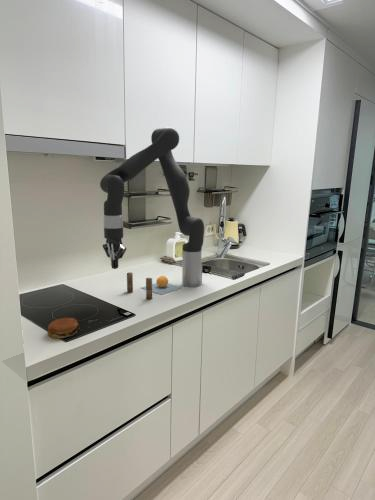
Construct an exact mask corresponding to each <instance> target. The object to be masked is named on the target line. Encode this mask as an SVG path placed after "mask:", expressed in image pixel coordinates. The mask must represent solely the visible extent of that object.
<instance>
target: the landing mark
mask: <svg viewBox="0 0 375 500" xmlns="http://www.w3.org/2000/svg"><path fill="white" fill-rule="evenodd" d="M182 288H183V286H178V285H176V284H172V283H169V282H168V284H167V286H166V287H159V286H158V285H157V282H156V283H152V293H154V294H158V295H161V296H162V295H165V294H168V293H171V292H174V291H177V290H179V289H182ZM140 289H142V290H145V291H146V285H145V286H142V287H140Z"/></svg>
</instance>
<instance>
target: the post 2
mask: <svg viewBox="0 0 375 500" xmlns="http://www.w3.org/2000/svg"><path fill="white" fill-rule="evenodd" d="M152 284H153V278H152V277H145V286H146V290H145V299H146V300H147V301H149V300H153V292H152Z"/></svg>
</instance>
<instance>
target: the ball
mask: <svg viewBox="0 0 375 500" xmlns="http://www.w3.org/2000/svg"><path fill="white" fill-rule="evenodd" d="M156 283H157V285H158V286H159V287H166V286H167V284H168V283H169V280H168V277H166V276H164V275H159V276H158V277H157V279H156Z"/></svg>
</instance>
